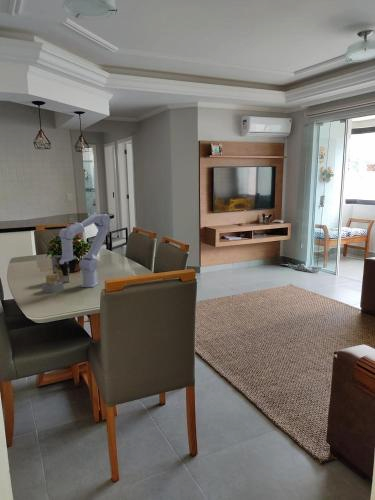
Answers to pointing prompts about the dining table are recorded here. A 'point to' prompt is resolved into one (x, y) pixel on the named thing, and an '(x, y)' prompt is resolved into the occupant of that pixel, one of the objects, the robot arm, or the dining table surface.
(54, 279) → the oak cube
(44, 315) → the dining table surface
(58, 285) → the slate block
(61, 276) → the coffee box
